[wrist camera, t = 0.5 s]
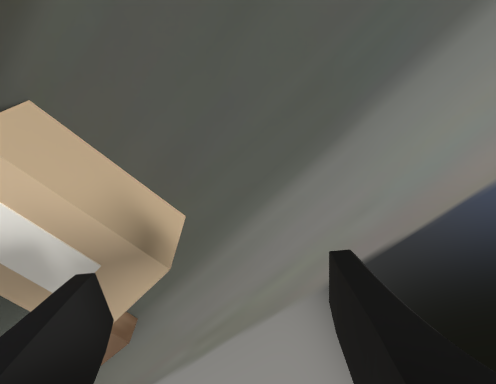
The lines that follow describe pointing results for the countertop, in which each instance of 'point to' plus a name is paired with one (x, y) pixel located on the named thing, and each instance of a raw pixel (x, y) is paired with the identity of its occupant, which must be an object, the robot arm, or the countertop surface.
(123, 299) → the carton
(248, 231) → the countertop surface
